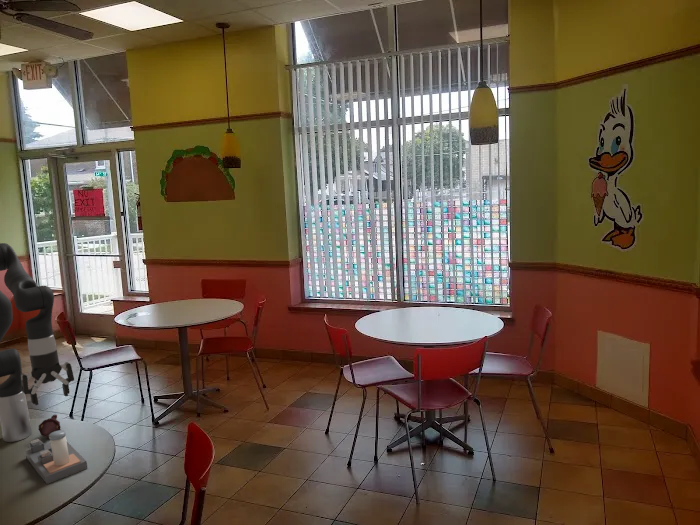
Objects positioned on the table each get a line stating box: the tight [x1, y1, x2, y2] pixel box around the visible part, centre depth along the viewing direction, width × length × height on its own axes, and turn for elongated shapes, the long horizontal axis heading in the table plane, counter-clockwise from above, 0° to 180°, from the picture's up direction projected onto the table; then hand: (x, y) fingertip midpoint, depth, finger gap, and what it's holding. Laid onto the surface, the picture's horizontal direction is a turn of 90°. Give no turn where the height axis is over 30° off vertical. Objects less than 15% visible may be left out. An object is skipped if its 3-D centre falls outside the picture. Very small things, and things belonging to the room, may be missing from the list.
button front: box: [40, 449, 50, 459], centre depth 179 cm, size 2×2×3 cm
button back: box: [30, 438, 41, 447], centre depth 188 cm, size 2×2×3 cm
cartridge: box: [48, 429, 70, 466], centre depth 176 cm, size 5×5×10 cm
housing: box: [25, 439, 88, 485], centre depth 182 cm, size 25×12×4 cm, turn 43°
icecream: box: [38, 414, 61, 438], centre depth 203 cm, size 7×7×15 cm
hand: (51, 400), depth 173 cm, fingers open, 8 cm apart
